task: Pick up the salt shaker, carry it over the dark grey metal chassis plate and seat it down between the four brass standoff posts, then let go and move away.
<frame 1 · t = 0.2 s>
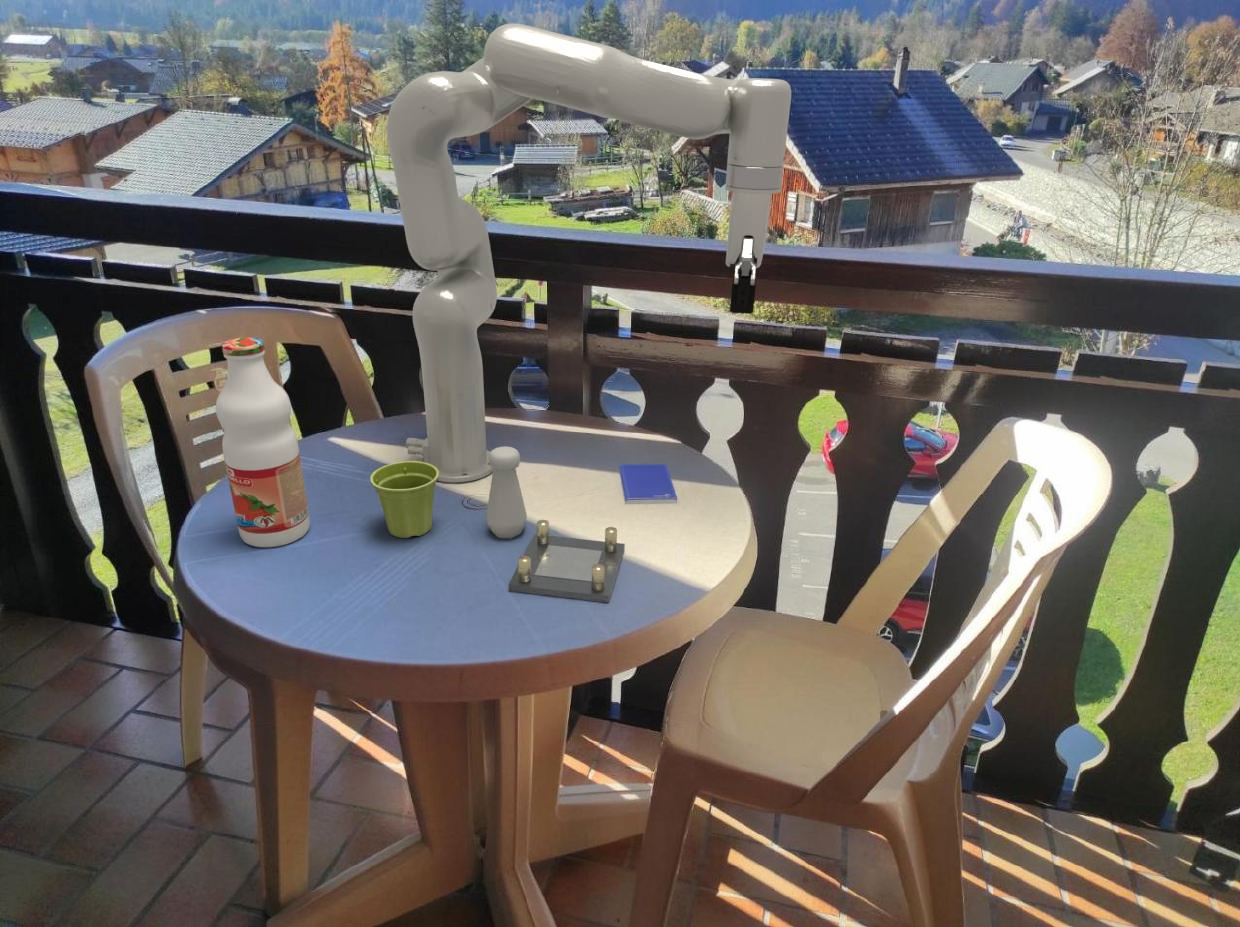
hand: (742, 304, 117), 31 cm above the table, tool pointing down, fingers open, 9 cm apart
salt shaker: (507, 532, 117), on the table
hard drive: (646, 490, 132), on the table
chassis: (569, 569, 109), on the table
fruit juice: (276, 533, 115), on the table
plant pot: (409, 529, 117), on the table
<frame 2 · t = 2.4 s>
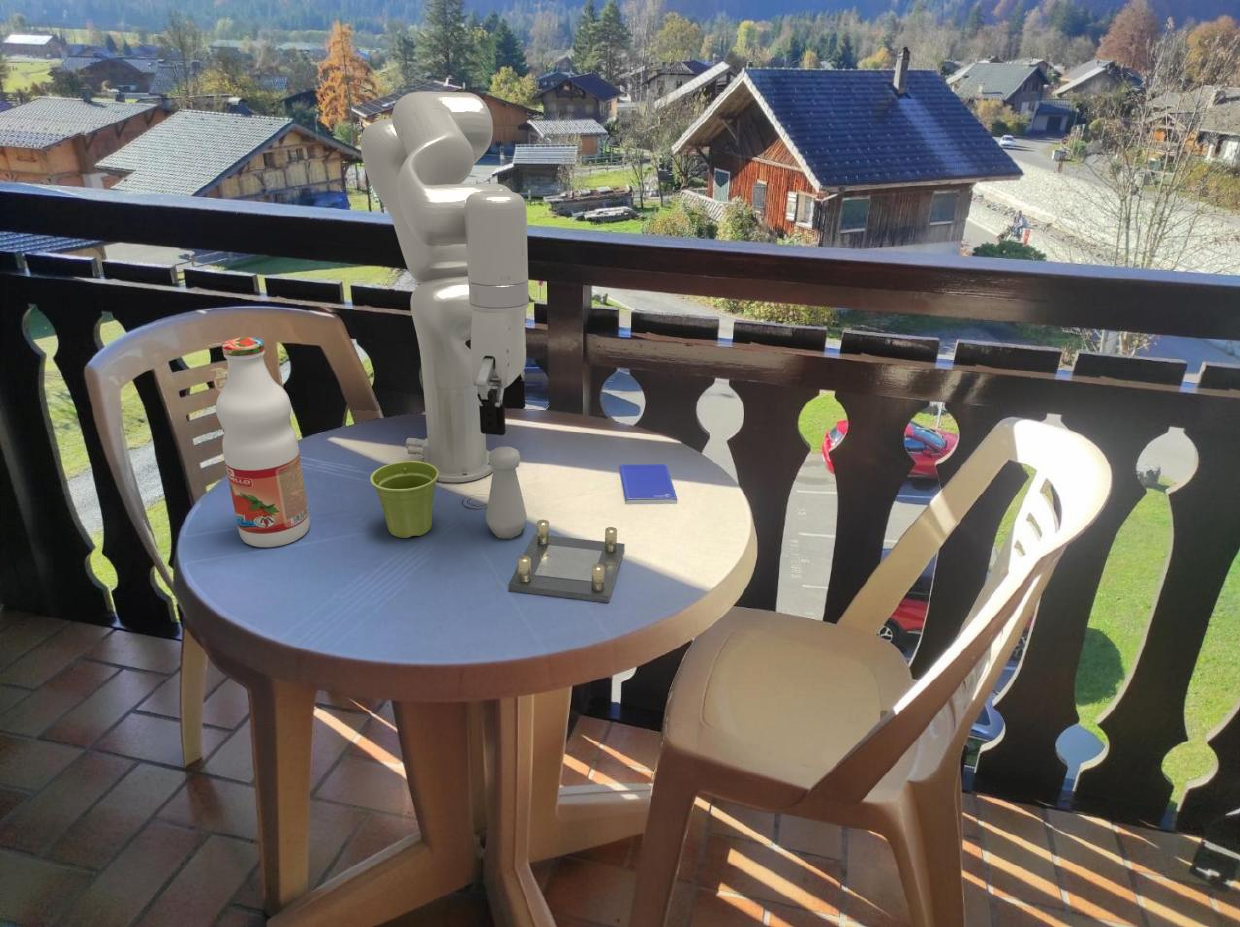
hand: (504, 420, 109), 18 cm above the table, tool pointing down, fingers open, 9 cm apart
nothing on the table moved.
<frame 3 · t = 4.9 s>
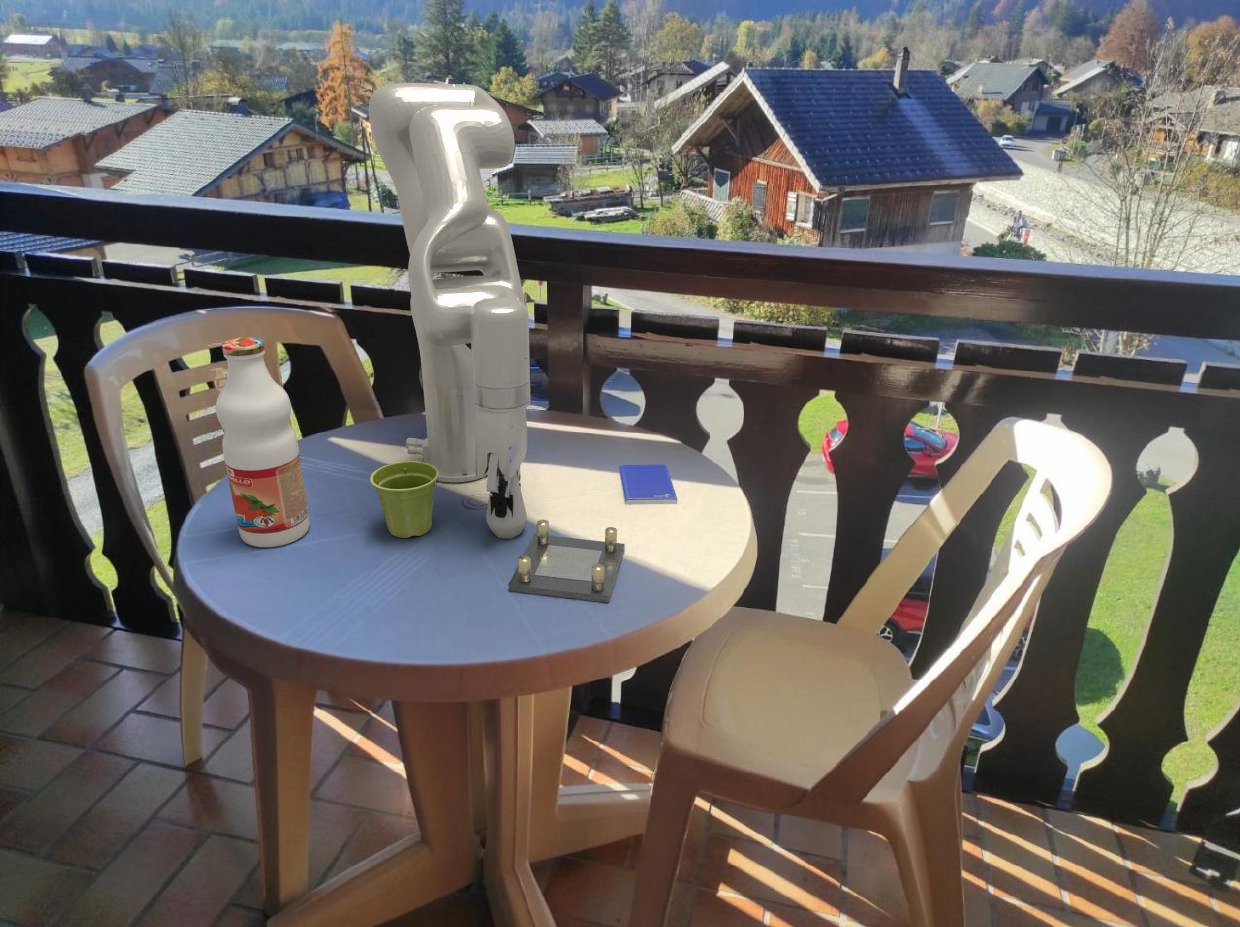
hand: (506, 512, 116), 3 cm above the table, tool pointing down, fingers closed on salt shaker, 3 cm apart
salt shaker: (507, 532, 117), on the table, touching gripper
everything else where it was.
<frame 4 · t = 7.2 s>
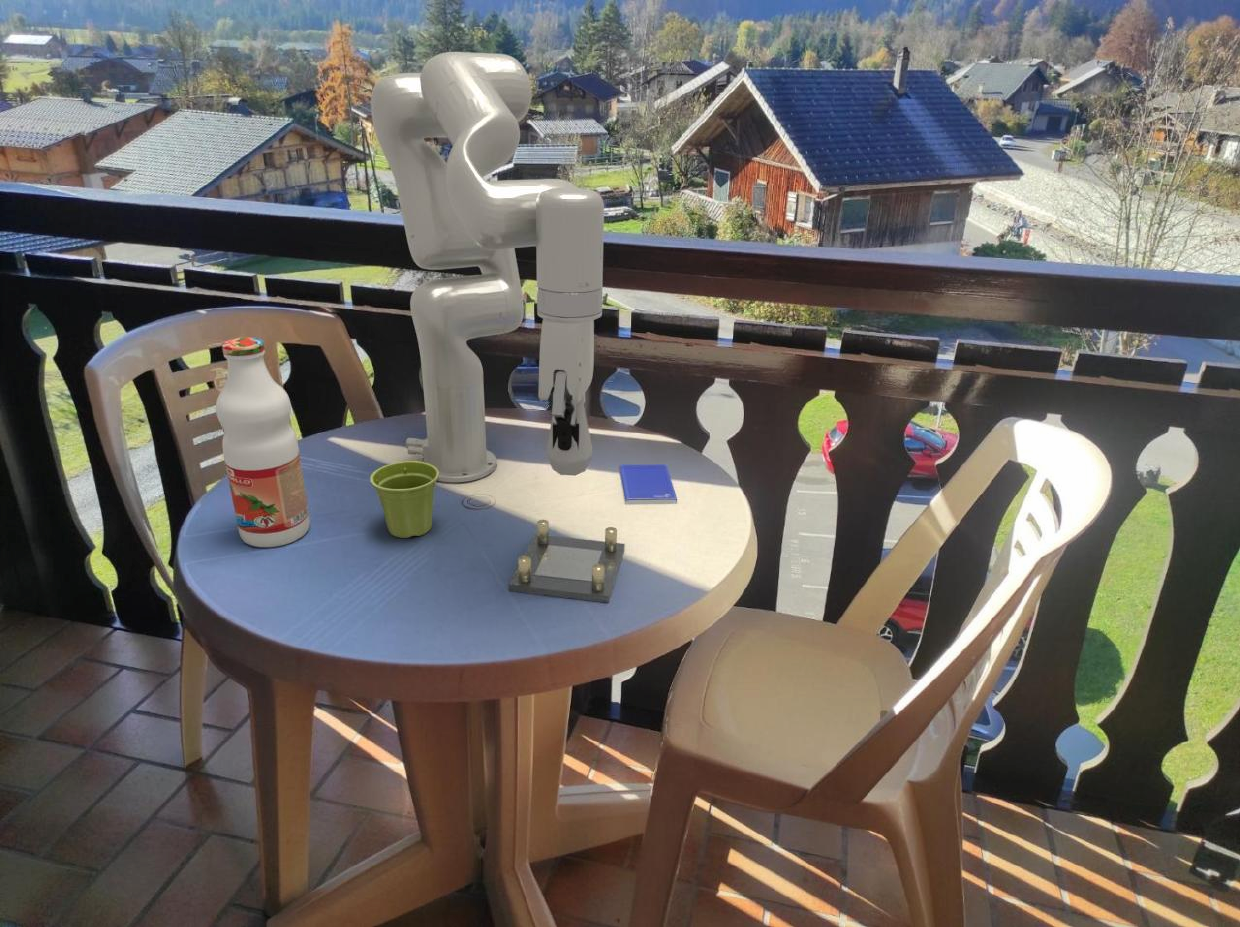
hand: (569, 445, 101), 18 cm above the table, tool pointing down, fingers closed on salt shaker, 3 cm apart
salt shaker: (569, 470, 102), point 15 cm above the table, touching gripper
everything else where it was.
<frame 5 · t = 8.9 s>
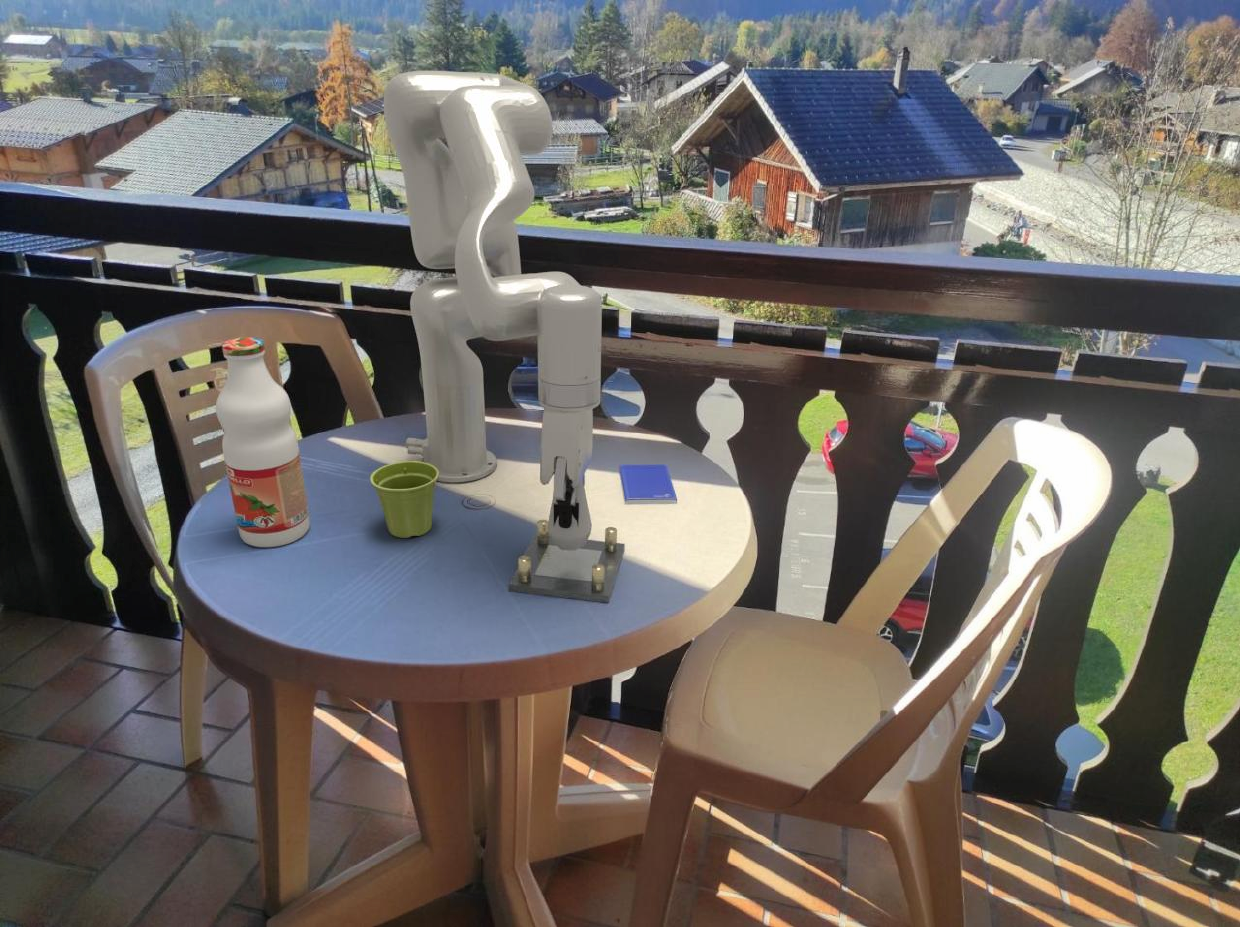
hand: (569, 521, 105), 7 cm above the table, tool pointing down, fingers closed on salt shaker, 3 cm apart
salt shaker: (569, 544, 107), point 4 cm above the table, touching gripper
everything else where it was.
when the fingers open (6 cm above the table, at t = 10.0 s): salt shaker drops 1 cm, resting on chassis.
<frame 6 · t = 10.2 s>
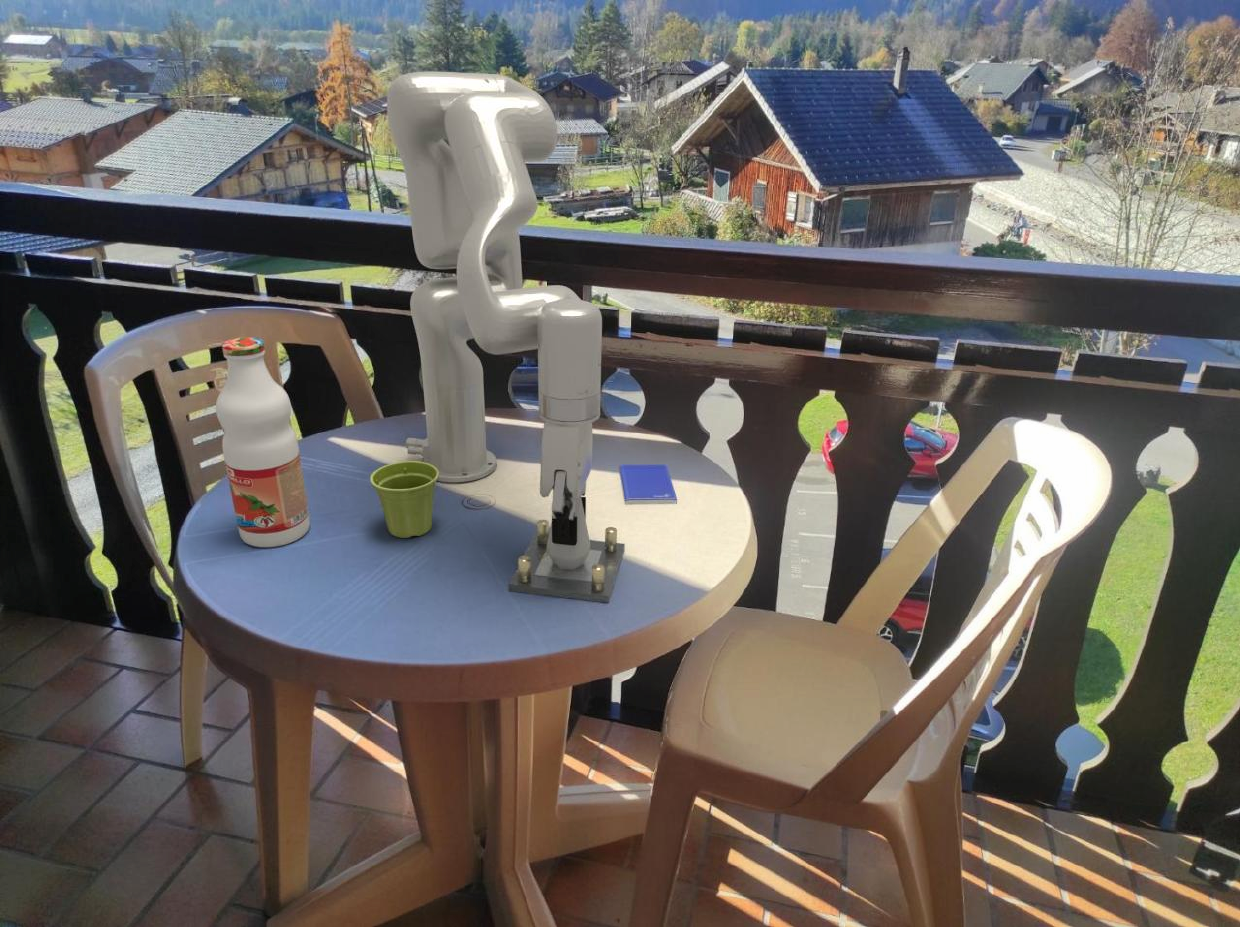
hand: (569, 531, 106), 6 cm above the table, tool pointing down, fingers open, 4 cm apart
salt shaker: (568, 562, 108), point 1 cm above the table, touching chassis
everything else where it was.
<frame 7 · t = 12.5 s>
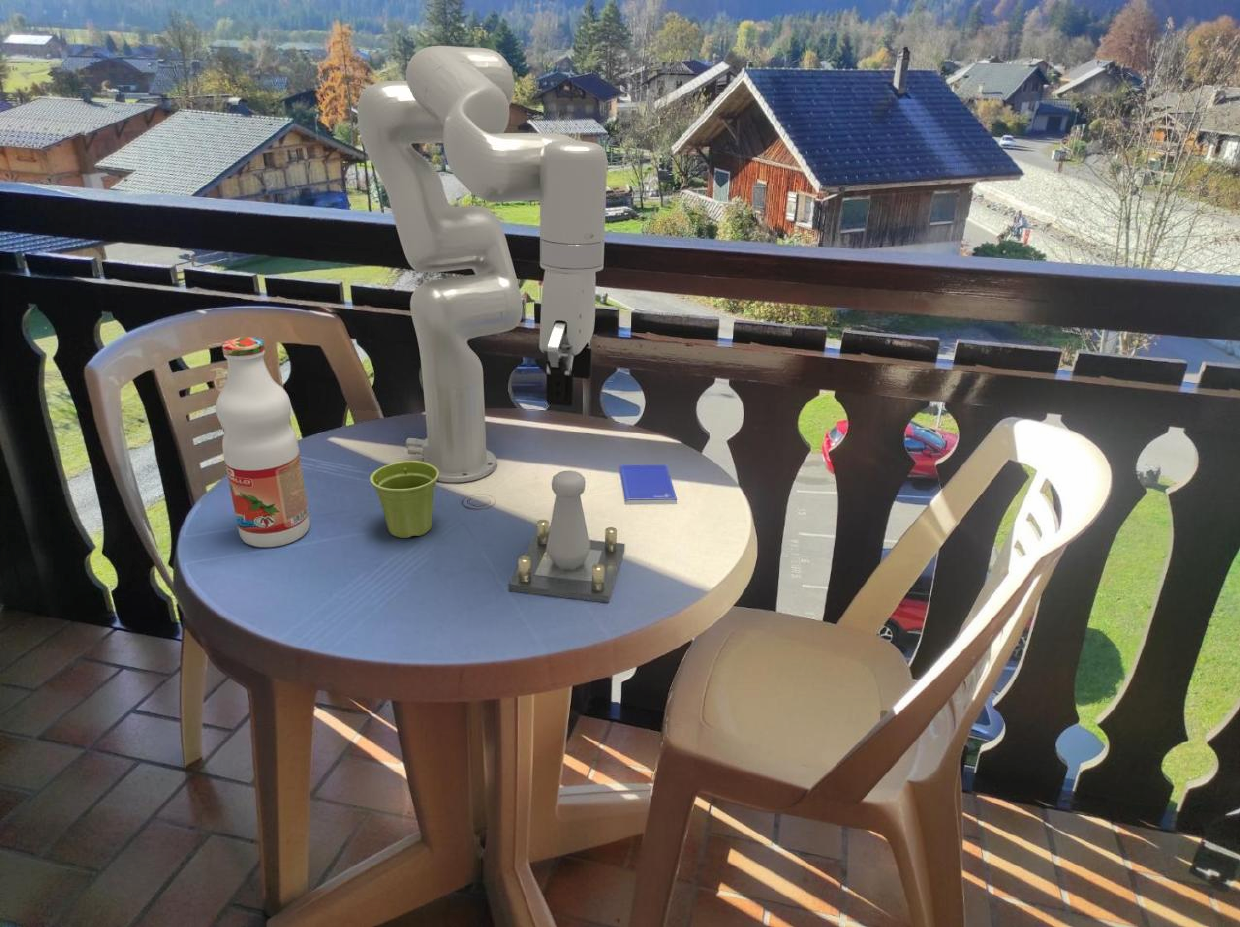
hand: (569, 389, 103), 24 cm above the table, tool pointing down, fingers open, 9 cm apart
nothing on the table moved.
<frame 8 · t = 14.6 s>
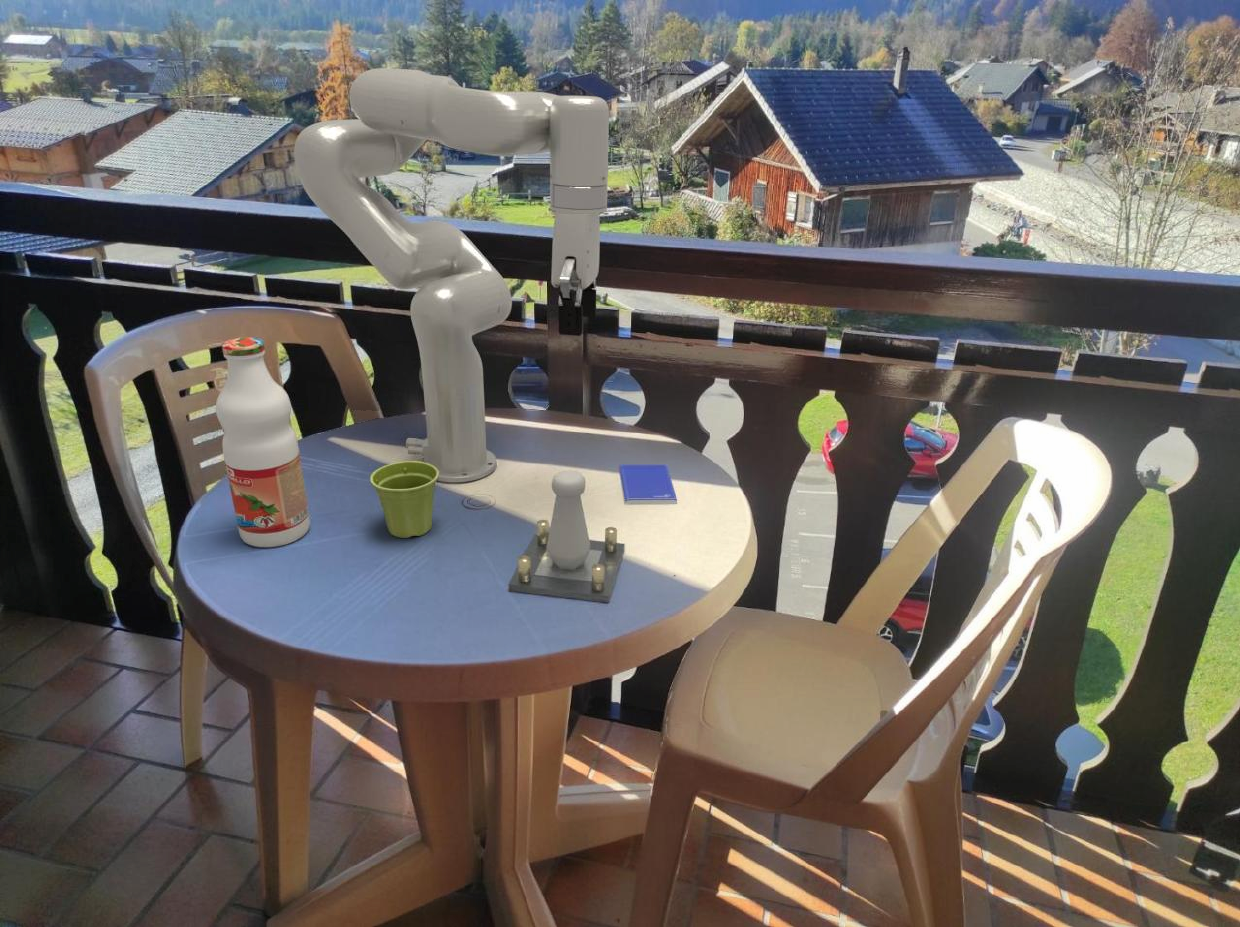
hand: (577, 325, 114), 28 cm above the table, tool pointing down, fingers open, 9 cm apart
nothing on the table moved.
at the end: salt shaker 0.2 cm off-centre on the chassis, point 0.9 cm above the chassis's base; salt shaker tilted 0°; the gripper is holding nothing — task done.
